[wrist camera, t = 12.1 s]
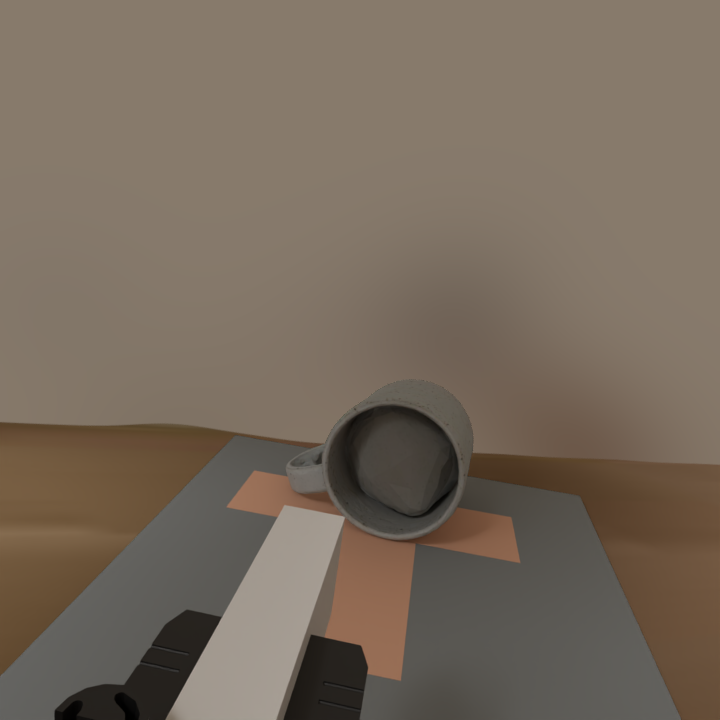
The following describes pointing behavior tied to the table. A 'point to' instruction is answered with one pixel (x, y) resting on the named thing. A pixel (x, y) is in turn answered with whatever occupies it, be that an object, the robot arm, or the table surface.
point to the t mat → (378, 603)
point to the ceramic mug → (393, 461)
